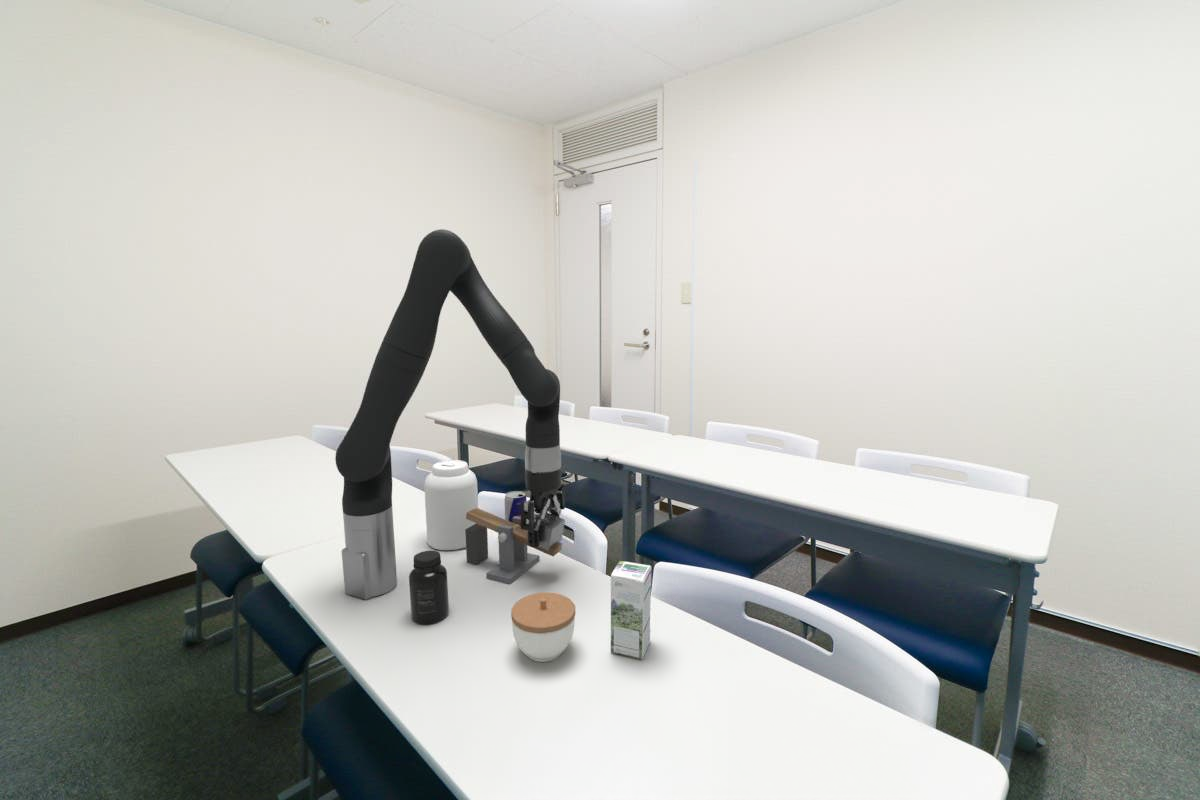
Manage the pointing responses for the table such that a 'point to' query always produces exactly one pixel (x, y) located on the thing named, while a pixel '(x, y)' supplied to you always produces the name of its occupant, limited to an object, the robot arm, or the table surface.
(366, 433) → the robot arm
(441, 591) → the supplement bottle
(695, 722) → the table surface
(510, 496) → the energy drink
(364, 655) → the table surface
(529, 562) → the stand
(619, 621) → the syrup box
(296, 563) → the table surface
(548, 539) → the block
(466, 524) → the white protein powder tub
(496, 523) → the beam
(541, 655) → the lidded jar
